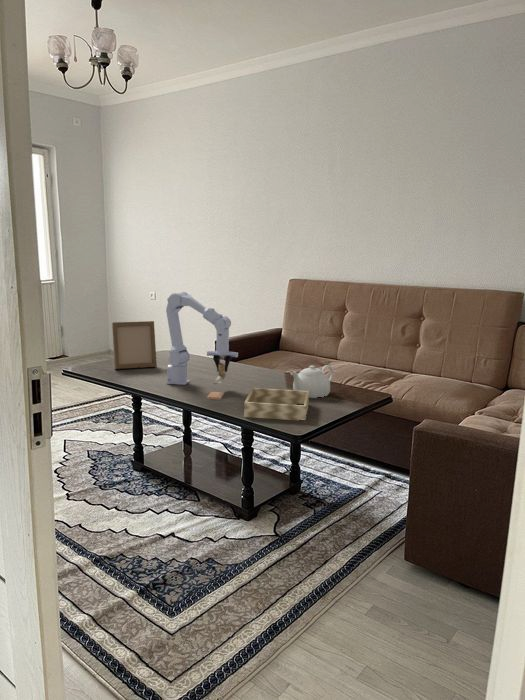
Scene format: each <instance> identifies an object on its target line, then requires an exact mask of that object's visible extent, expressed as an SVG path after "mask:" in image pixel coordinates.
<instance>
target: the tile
mask: <svg viewBox="0 0 525 700" xmlns="http://www.w3.org/2000/svg"><path fill="white" fill-rule="evenodd" d="M224 396H225V392H222V391H221V392H220V391H210V393H209V394H208V395H207V397H206V399H207V400H216V401H217V400H218V401H219V400H220V401H221V400H222V398H223V397H224Z"/></svg>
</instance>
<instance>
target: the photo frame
mask: <svg viewBox="0 0 525 700" xmlns="http://www.w3.org/2000/svg"><path fill="white" fill-rule="evenodd" d="M111 326H112V327H111V329H112V343H113V356H114V357H113V360H114V370H121V369H136V368H138V367H139V368H151V367H152V368H154V367H157V365H158V364H157V362H158V361H157V350H156V349H157V348H156V333H155V321H154V320H151V321H150V320H149V321H124V322H123V321H116V322H112V323H111Z"/></svg>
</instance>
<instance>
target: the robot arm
mask: <svg viewBox="0 0 525 700" xmlns="http://www.w3.org/2000/svg"><path fill="white" fill-rule="evenodd" d="M183 307H190V308H192V309H193V310H195V311H196V312H198V313H200V314H202V317H203V319H204V320H206V321H207V322H209V323H210V324H212V325H213V326H214V328H215V330H216V343H215V344H216V346H215V347H216V350H207V351H206V356H207V357H209V356H211V357H212V359H213V361H214V364H215V367H216V370H217V372H218V373H219V363H221V357H225V358H224V363H225V372H226V373H227V372H228V368H229V365H230V361H231V360H232V358H238V357H239V352H235V351H230V350H229V349H230V345H229V344H230V343H229V342H230V327H231V325H232V320H231V319H230V318H229V317H228V316H223V314H222V313H219V312H218V311H216V309H215V308H214V307H208V308H207V307H206V306H204V305H203V304H202V303H200V302H199V301H198V300H196V299H195V298H194V297H193V296H192V295H191V294H188V293H187V292H185V291H181V292H177V293H176V292H175V293H171V294H170V295H169V296H168V297H167V306H166V308H165V310H166V311H165V313H166V318H167V323H168V330H169V337H170V342H171V348H170V350H169V358H168V360H169V364H168V365H167V368H166V384H167V385H182V386H183V385H184V386H186V385H187V384H188V383H189V382H190V379H188V362H189V360H190V357H191V355H190V353H189V351H188V349H187V346H186V345H184V339H183V334H182V333H183V332H182V328H181V322H180V316H179V312H180V311H181V310H182V309H183Z"/></svg>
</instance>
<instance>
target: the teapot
mask: <svg viewBox="0 0 525 700" xmlns="http://www.w3.org/2000/svg"><path fill="white" fill-rule="evenodd" d="M326 368H328V369H329V370H330V376H329V378H328V376H327V375H326V373H325V370H326ZM334 375H335V373H334V369H333V368H332V366H330V365H328V364H326V365H323V366H322V368H321V369H320V368H318V367H316V366H315V365H309V367H306V368H304V369H301V370H300V371H299V373H298V372H297V371H291V372H290V376H293V384H292V390H297V391H309V399H318V398H317V397H322V398H325V397H327V396H328V395H329V394H330V392H331V381H332V380H333V378H334ZM324 396H325V397H324Z"/></svg>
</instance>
